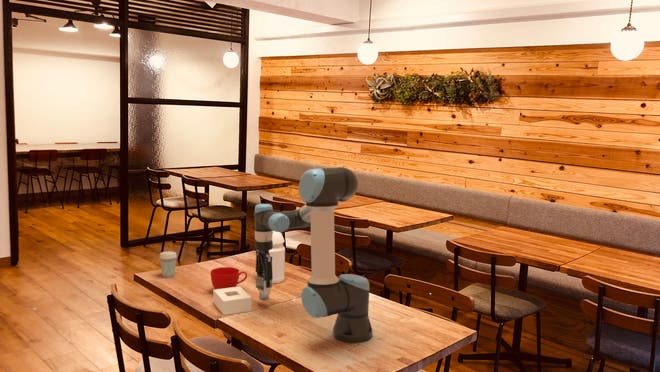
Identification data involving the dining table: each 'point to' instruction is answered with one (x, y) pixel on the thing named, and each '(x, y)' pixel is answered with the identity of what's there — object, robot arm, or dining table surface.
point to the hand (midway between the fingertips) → (264, 292)
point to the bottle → (277, 257)
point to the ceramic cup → (225, 277)
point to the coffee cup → (168, 263)
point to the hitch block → (232, 300)
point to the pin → (262, 287)
